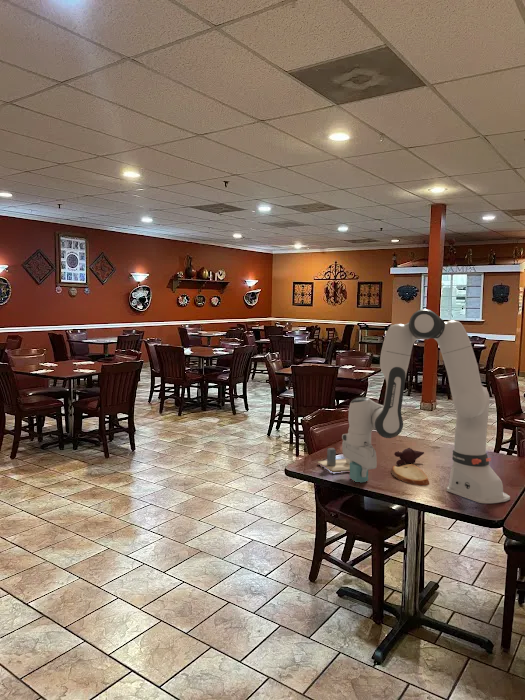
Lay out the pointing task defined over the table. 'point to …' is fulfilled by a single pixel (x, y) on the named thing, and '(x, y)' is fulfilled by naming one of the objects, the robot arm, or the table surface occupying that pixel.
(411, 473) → the bread slice
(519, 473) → the table surface
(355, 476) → the teal rectangular block
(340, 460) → the board
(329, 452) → the tall post
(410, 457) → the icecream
